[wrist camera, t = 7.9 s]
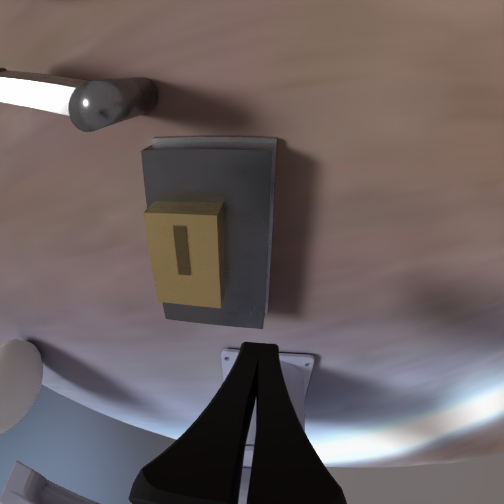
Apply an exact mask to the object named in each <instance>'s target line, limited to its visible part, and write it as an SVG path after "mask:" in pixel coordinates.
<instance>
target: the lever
mask: <svg viewBox="0 0 504 504" xmlns="http://www.w3.org/2000/svg"><path fill="white" fill-rule="evenodd" d="M157 97H158V92H157V88H156V86H155V84H154V83H153V82H152V81H151V80H149V79H147V78H143V77H139V78H120V79H107V80H96V81H86V80H80V79H74V78H68V77H61V76H54V75H47V74H39V73H30V72H20V71H8V70H6V69H5V68H0V102H6V103H11V104H17V105H22V106H27V107H32V108H37V109H41V110H46V111H50V112H55V113H59V114H64V115H68V116H70V119H71V121H72V123H73V124H74V125H75V126H76V127H77V128H78V129H80V130H81V131H85V132H92V131H95V130H98V129H100V128H103V127H106V126H109V125H112V124H115V123H118V122H121V121H124V120H127V119H130V118H133V117H137V116H140V115H143V114H146V113H148V112H149V111H151V110H152V109H153V107H154V106H155V104H156V102H157Z"/></svg>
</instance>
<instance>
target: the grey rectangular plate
mask: <svg viewBox="0 0 504 504" xmlns="http://www.w3.org/2000/svg"><path fill="white" fill-rule="evenodd" d="M276 148H277V137H258V136H168V137H154V138H152V145H151V146H149V147H147V148H145V149H144V150H142V151H141V153H142V164H143V175H144V184H145V193H146V202H147V208H148V207H149V206H150V205H151V204H152V203H153V202H154V201H158V202H195V203H221V204H223V232H224V264H225V291H226V292H225V296H224V300H223V303H222V307H221V308H212V307H202V306H192V305H183V304H174V303H165V302H163V307H164V312H165V317H166V319H171V320H179V321H187V322H195V323H204V324H214V325H224V326H234V327H245V328H258V329H263V324H264V314H265V313H268V299H269V283H270V267H271V250H272V231H273V212H274V192H275V171H276Z"/></svg>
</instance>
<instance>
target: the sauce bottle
mask: <svg viewBox="0 0 504 504" xmlns="http://www.w3.org/2000/svg"><path fill="white" fill-rule="evenodd" d="M42 377H43V363H42V360H41V355H40V353H39V351H38V349H37V347H36V346H35V345H34V344H32V343H31V342H28V341H26V340H21V341H20V340H17V339H14V340H10V341H7V342H5V343H3V344H2V345H0V434H1V433H3V432H5V431H7V430H8V429H10V428H11V427H12V426H14V425H15V424H16V423H17V422H18V421H19V420H20V419H21V418H22V417H23V416H24V415H25V414H26V413H27V411H28V410H29V409H30V407H31V406H32V404H33V402H34V401H35V399H36V397H37V395H38V392H39V390H40V387H41V383H42Z"/></svg>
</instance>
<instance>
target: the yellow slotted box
mask: <svg viewBox="0 0 504 504" xmlns="http://www.w3.org/2000/svg"><path fill="white" fill-rule="evenodd" d="M143 214H144V221H145V228H146V235H147V241H148V247H149V253H150V259H151V265H152V271H153V276H154V281H155V287H156V292H157V297H158V302H165V303H174V304H183V305H192V306H202V307H212V308H221V307H222V303H223V300H224V296H225V292H226V291H225V264H224V232H223V204H221V203H195V202H158V201H154V202H153V203H152V204H151V205H150V206H149V207H148V208H147V209H146V210H145V212H144V213H143Z"/></svg>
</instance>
